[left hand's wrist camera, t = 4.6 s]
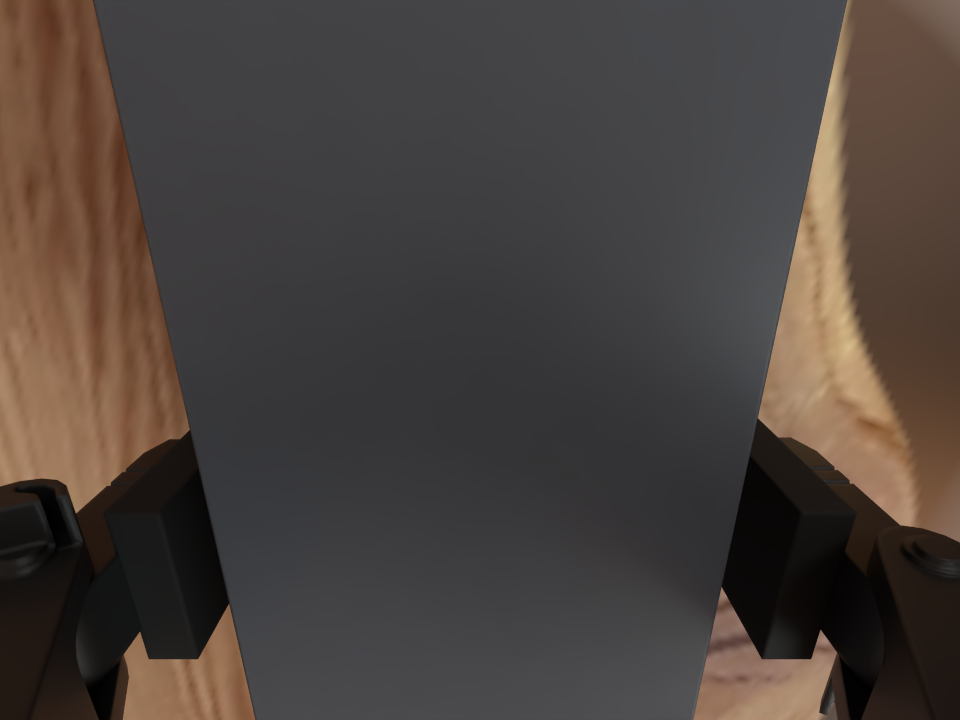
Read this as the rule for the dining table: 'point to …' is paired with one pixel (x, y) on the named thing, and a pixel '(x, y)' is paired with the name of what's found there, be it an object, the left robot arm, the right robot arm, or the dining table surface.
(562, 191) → the beam
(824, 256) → the dining table surface
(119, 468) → the dining table surface
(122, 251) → the dining table surface
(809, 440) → the dining table surface
